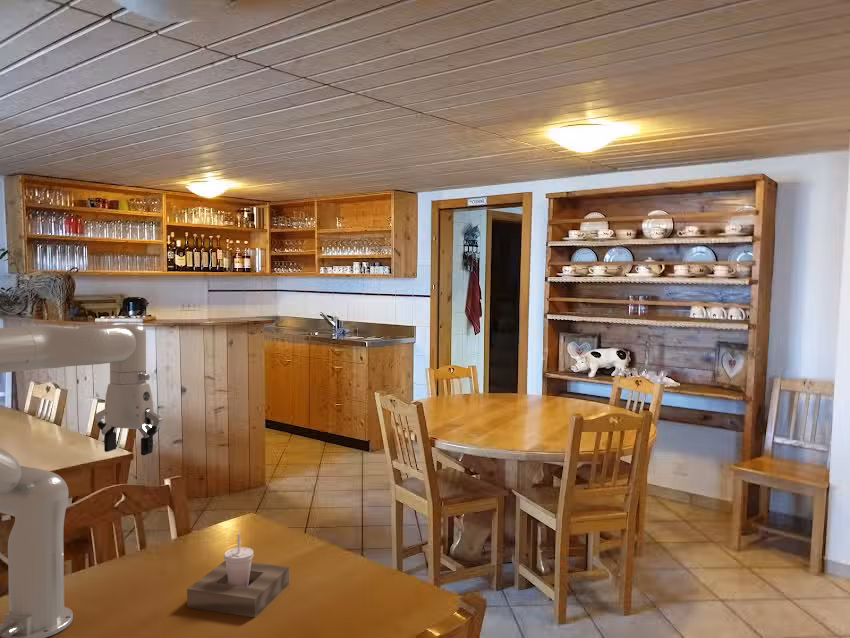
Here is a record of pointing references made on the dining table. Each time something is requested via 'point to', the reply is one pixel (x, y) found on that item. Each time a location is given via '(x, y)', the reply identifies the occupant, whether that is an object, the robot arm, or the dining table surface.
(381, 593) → the dining table surface
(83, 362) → the robot arm
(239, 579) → the smoothie
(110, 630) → the dining table surface
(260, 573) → the bottle stand
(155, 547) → the dining table surface
